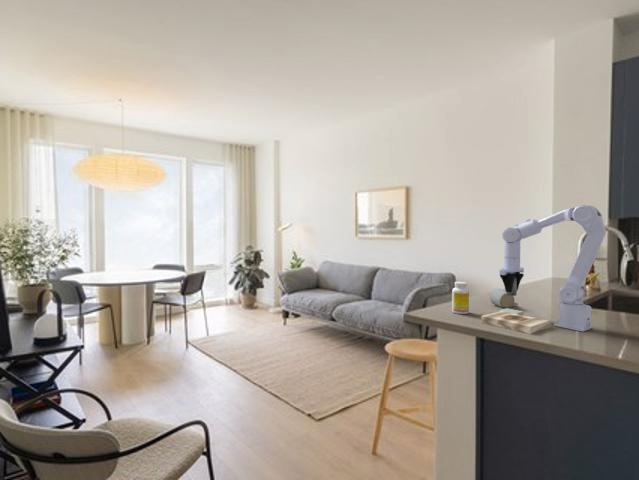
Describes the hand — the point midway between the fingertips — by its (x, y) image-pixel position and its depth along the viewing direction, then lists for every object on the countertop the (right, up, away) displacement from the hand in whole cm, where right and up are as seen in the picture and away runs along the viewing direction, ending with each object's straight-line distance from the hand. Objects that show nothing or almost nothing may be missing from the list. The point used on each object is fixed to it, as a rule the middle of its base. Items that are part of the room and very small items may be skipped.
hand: (511, 291), depth 150 cm
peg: (0, -1, 0) cm, 1 cm away
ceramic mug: (+7, -10, +19) cm, 22 cm away
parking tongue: (+1, -10, +2) cm, 10 cm away
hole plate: (-5, -11, -11) cm, 16 cm away
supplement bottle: (-18, -10, +8) cm, 22 cm away
